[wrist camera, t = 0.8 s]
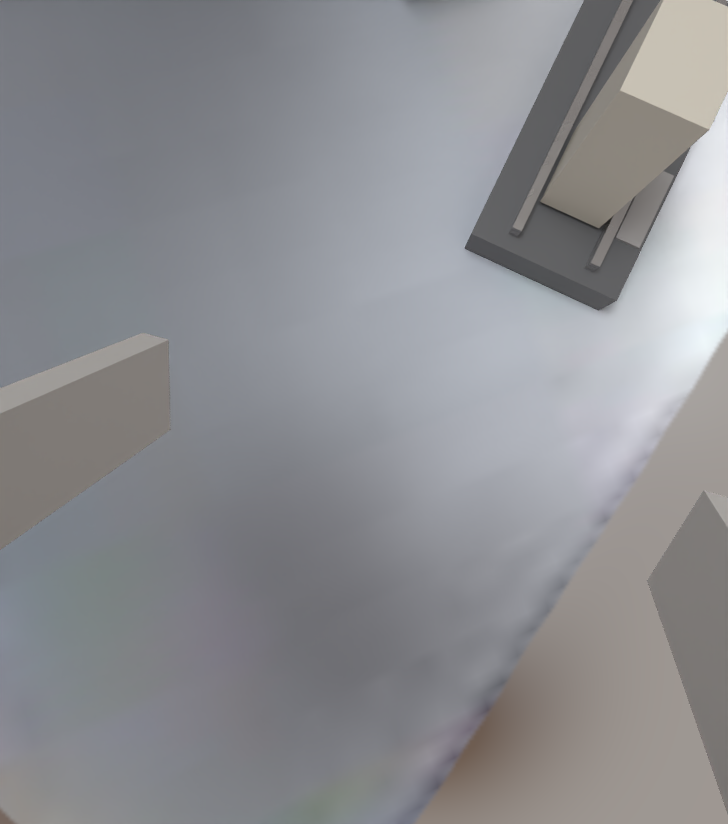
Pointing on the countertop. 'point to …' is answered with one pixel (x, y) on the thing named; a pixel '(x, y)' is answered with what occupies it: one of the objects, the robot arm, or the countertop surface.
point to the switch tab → (645, 111)
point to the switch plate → (539, 157)
